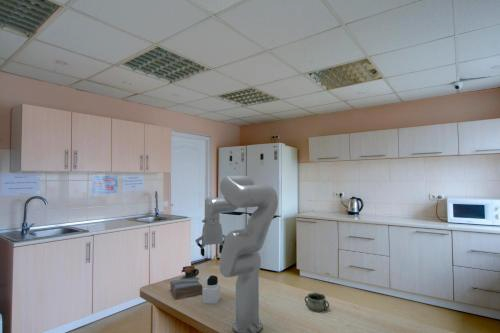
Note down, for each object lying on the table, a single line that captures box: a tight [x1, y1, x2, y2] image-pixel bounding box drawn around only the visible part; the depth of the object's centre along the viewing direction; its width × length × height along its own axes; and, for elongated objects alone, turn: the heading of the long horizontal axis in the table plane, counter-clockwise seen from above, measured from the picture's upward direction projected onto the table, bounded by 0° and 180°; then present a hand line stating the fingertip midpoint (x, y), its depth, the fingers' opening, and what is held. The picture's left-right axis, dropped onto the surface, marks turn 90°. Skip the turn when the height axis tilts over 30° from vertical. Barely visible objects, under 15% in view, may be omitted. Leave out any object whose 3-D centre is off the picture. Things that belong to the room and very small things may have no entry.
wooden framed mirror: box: [170, 277, 203, 300], centre depth 154 cm, size 14×14×5 cm
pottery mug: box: [181, 265, 200, 279], centre depth 175 cm, size 12×9×8 cm
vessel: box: [304, 292, 330, 313], centre depth 133 cm, size 12×9×6 cm
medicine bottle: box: [202, 275, 221, 304], centre depth 143 cm, size 7×7×12 cm
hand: (212, 254), depth 146 cm, fingers open, 9 cm apart
